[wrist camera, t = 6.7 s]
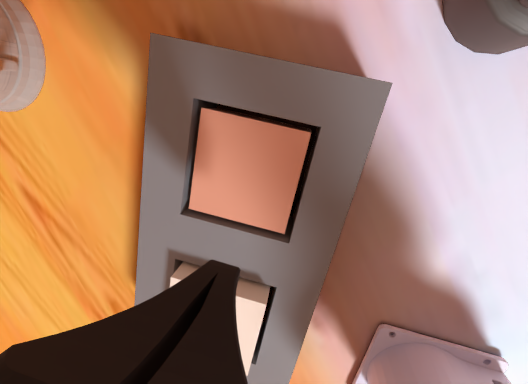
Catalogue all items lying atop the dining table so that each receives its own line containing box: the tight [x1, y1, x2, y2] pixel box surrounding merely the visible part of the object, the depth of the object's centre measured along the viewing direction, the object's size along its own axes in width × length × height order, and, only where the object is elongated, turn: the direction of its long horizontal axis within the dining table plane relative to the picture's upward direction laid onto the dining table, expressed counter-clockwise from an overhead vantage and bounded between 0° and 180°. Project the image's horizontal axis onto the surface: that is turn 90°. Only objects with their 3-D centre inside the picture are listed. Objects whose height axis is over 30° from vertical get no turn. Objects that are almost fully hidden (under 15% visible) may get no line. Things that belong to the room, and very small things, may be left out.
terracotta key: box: [189, 108, 311, 234], centre depth 16 cm, size 6×6×3 cm
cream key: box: [170, 261, 270, 376], centre depth 18 cm, size 6×6×3 cm
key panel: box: [135, 33, 392, 384], centre depth 18 cm, size 12×22×4 cm, turn 168°
